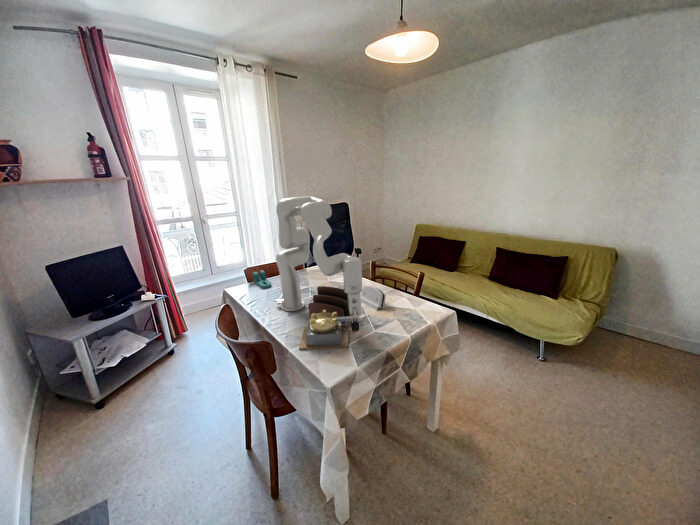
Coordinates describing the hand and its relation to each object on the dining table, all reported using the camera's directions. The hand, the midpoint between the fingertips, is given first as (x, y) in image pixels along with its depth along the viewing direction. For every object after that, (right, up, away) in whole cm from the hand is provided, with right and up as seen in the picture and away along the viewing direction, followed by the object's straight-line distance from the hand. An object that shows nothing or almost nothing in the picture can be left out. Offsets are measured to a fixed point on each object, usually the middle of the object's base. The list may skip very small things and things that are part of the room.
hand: (354, 324), depth 118 cm
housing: (-13, -6, +1) cm, 14 cm away
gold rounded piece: (-8, -3, +1) cm, 9 cm away
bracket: (-60, +12, +66) cm, 90 cm away
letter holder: (-11, -1, +20) cm, 23 cm away
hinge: (+10, +4, +32) cm, 34 cm away
